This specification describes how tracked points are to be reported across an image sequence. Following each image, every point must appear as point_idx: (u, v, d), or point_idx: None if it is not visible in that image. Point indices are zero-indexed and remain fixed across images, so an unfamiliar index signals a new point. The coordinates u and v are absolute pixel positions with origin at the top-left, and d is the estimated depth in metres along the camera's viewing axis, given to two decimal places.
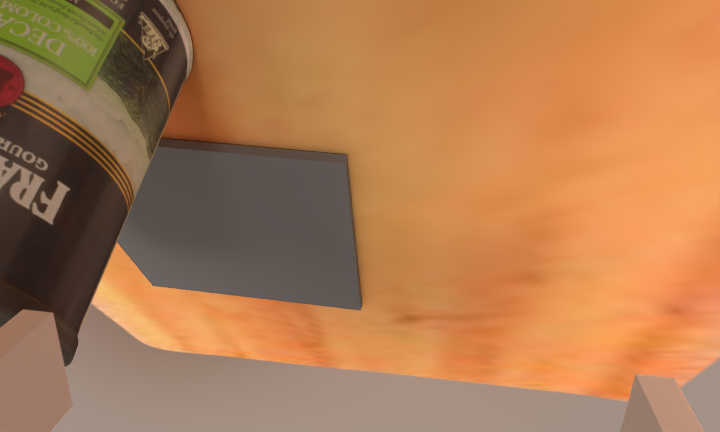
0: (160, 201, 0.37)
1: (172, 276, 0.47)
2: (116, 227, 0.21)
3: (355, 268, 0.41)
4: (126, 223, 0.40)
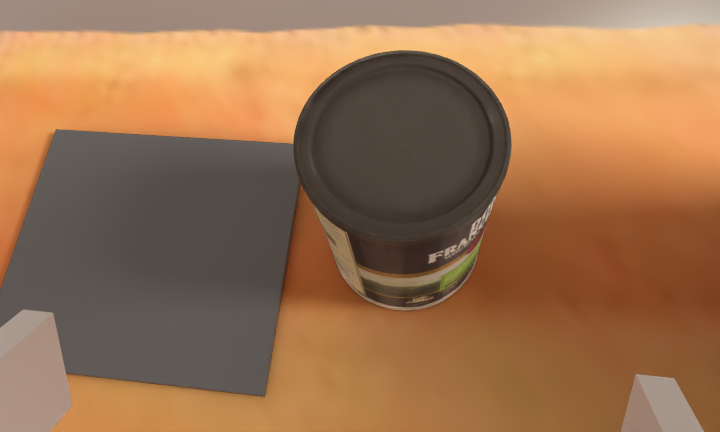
0: (214, 209, 0.42)
1: (75, 160, 0.44)
2: (369, 263, 0.30)
3: (80, 373, 0.38)
4: (180, 159, 0.44)
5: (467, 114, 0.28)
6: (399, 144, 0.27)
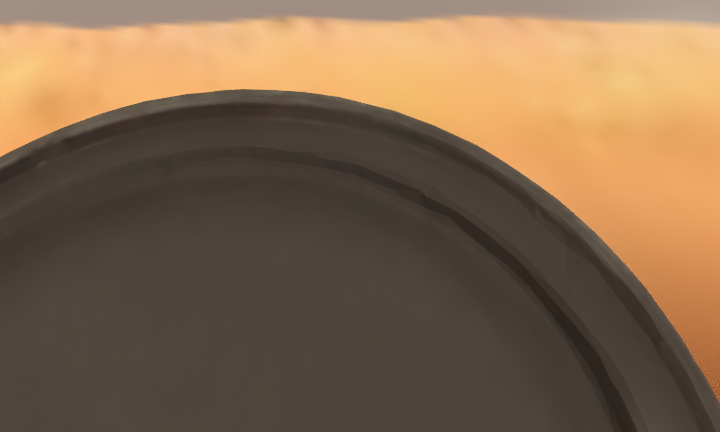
0: None
1: None
2: None
3: None
4: None
5: (535, 423, 0.06)
6: None
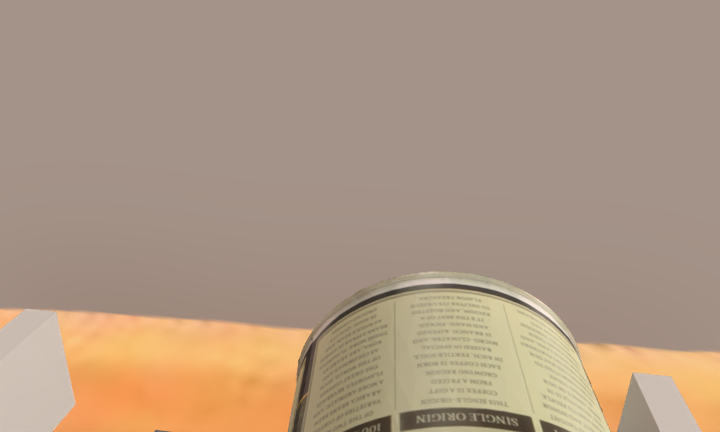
0: None
1: None
2: None
3: None
4: None
5: None
6: None
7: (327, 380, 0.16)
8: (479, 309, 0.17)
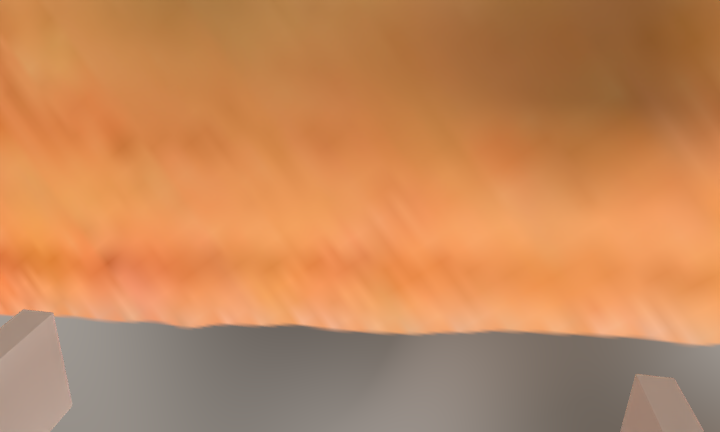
0: None
1: None
2: None
3: None
4: None
5: None
6: None
7: None
8: None
